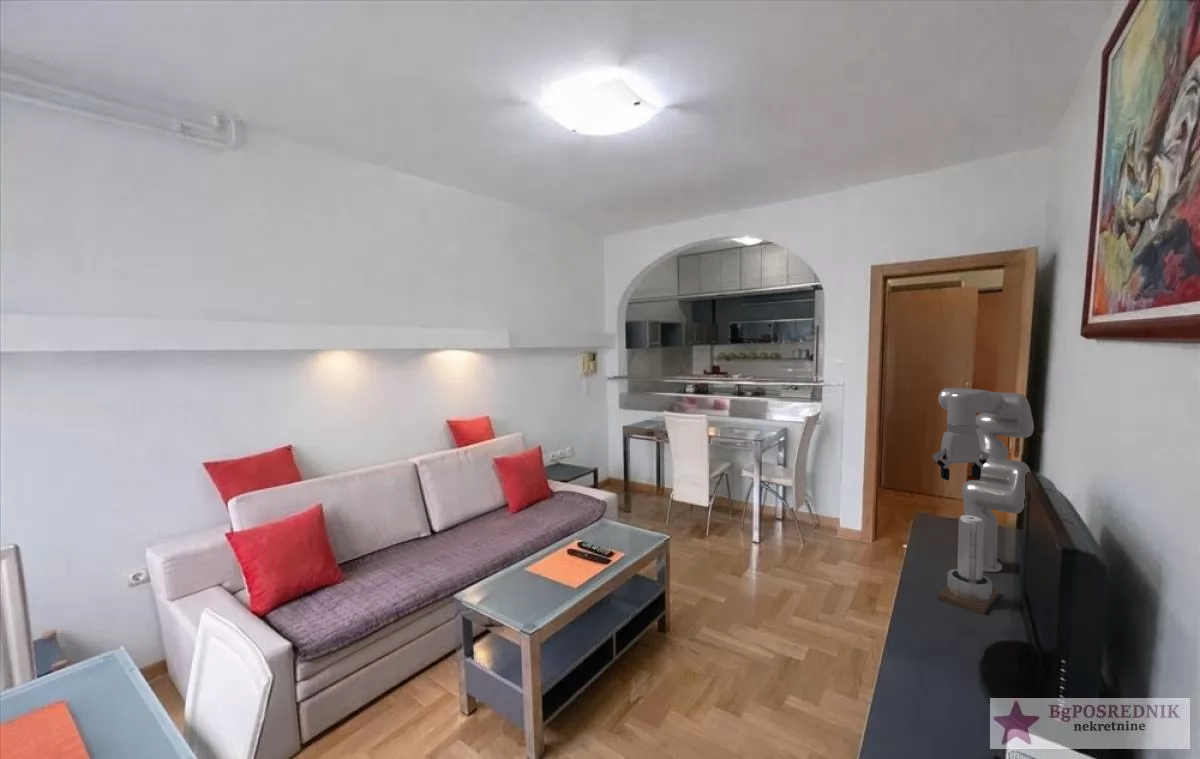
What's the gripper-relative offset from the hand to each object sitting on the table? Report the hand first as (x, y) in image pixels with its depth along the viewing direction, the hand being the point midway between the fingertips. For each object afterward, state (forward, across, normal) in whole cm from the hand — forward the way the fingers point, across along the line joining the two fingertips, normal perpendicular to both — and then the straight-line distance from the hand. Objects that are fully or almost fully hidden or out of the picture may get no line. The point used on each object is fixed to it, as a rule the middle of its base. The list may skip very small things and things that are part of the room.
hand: (960, 478), depth 156 cm
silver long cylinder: (+36, +2, +8) cm, 37 cm away
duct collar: (+37, +2, +8) cm, 38 cm away
